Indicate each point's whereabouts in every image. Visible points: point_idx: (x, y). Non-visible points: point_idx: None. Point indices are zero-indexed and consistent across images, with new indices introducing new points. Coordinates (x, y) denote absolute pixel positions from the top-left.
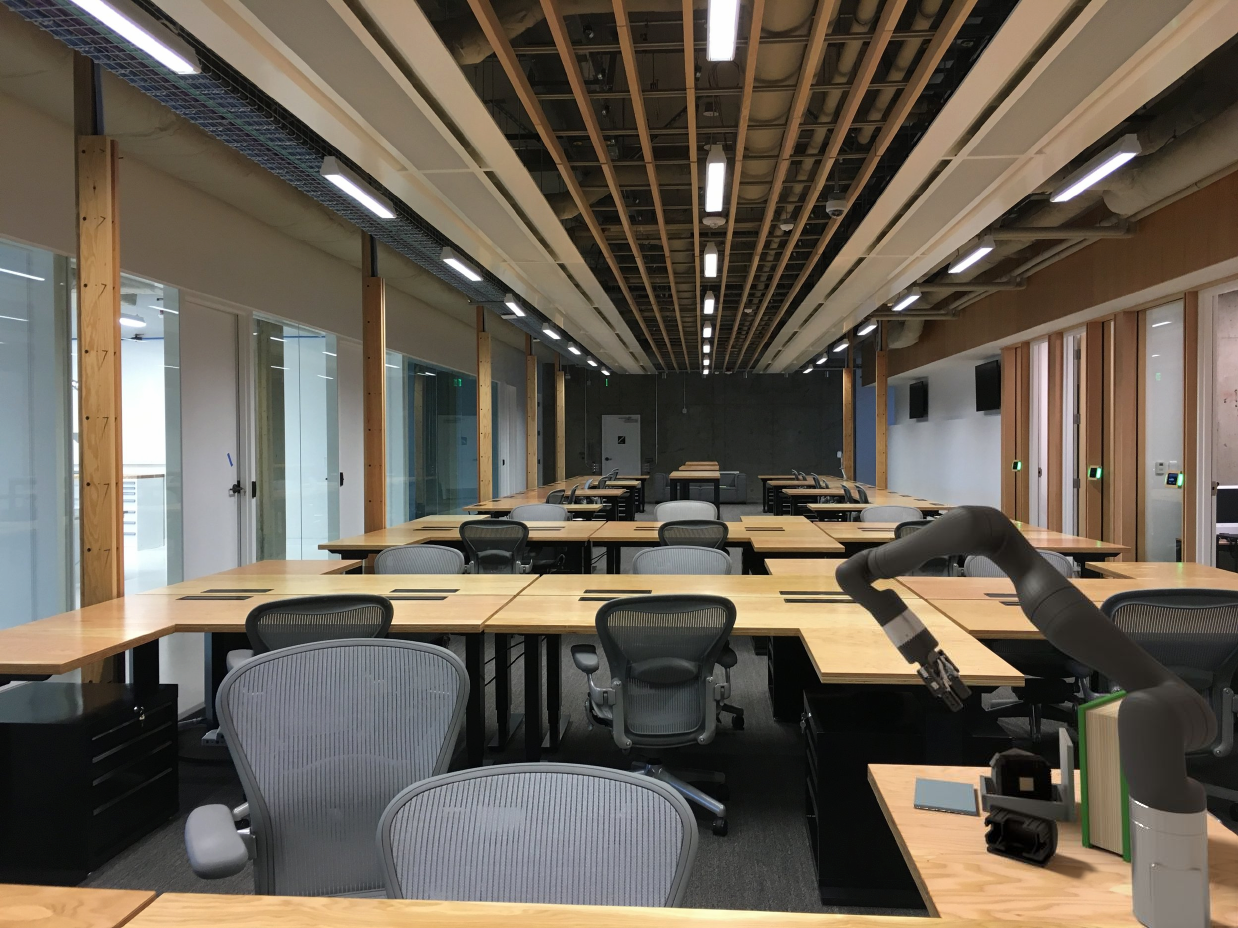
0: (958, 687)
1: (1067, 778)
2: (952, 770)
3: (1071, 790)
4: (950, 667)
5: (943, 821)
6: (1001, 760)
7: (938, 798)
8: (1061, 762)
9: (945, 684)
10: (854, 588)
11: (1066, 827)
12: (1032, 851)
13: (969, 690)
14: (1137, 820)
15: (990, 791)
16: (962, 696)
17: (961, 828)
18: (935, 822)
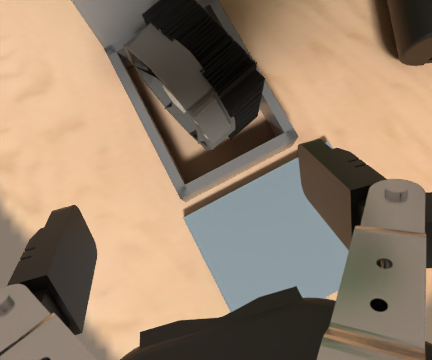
0: (76, 277)
1: None
2: (111, 308)
3: None
4: (75, 343)
5: (405, 176)
6: (233, 90)
7: (325, 232)
8: (102, 2)
9: (416, 209)
10: None
11: (246, 8)
12: None
13: (56, 215)
14: None
15: (183, 178)
16: (93, 251)
17: (407, 135)
18: (424, 185)
